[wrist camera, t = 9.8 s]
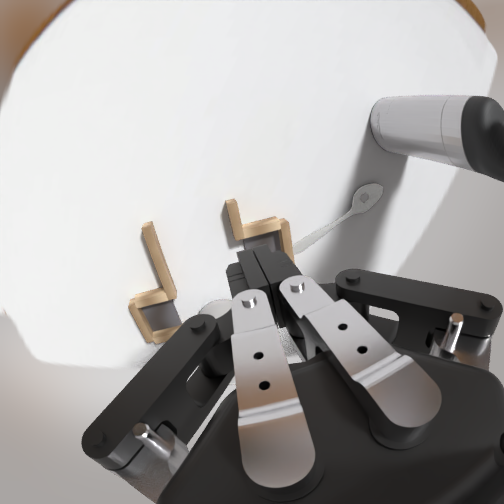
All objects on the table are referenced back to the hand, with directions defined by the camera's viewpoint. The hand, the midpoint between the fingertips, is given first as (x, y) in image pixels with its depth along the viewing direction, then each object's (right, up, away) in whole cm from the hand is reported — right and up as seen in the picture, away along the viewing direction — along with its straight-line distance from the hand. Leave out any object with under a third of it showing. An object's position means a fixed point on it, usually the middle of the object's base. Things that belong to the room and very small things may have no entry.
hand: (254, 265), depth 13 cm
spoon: (+12, +5, +27) cm, 30 cm away
